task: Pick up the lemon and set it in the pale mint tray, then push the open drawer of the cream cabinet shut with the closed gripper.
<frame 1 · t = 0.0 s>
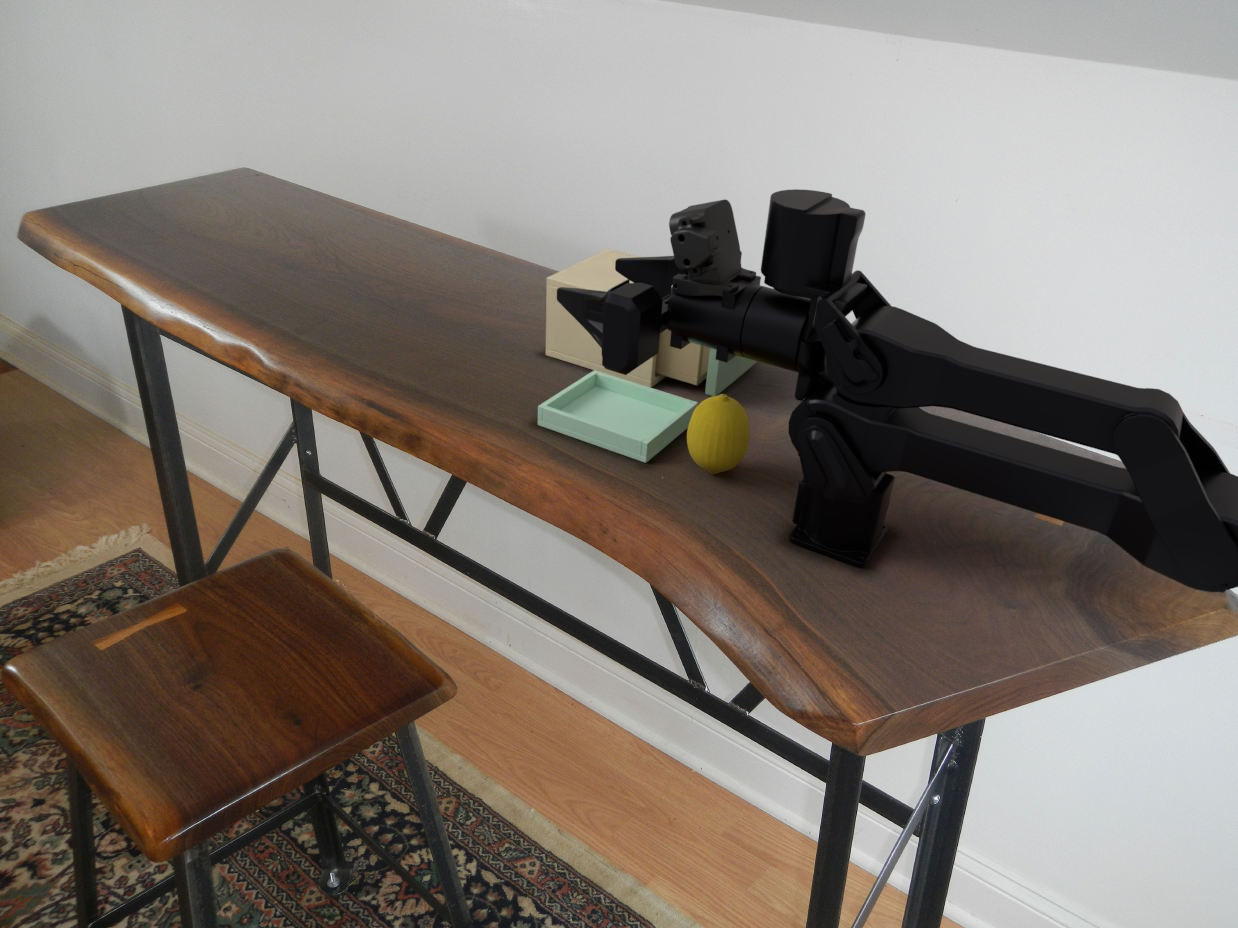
hand: (588, 278, 81), 17 cm above the table, tool horizontal, fingers open, 9 cm apart
cabinet: (626, 352, 109), on the table
drawer: (707, 337, 102), point 5 cm above the table, slide at 6.0 cm
tray: (618, 423, 94), on the table
lemon: (713, 475, 87), on the table
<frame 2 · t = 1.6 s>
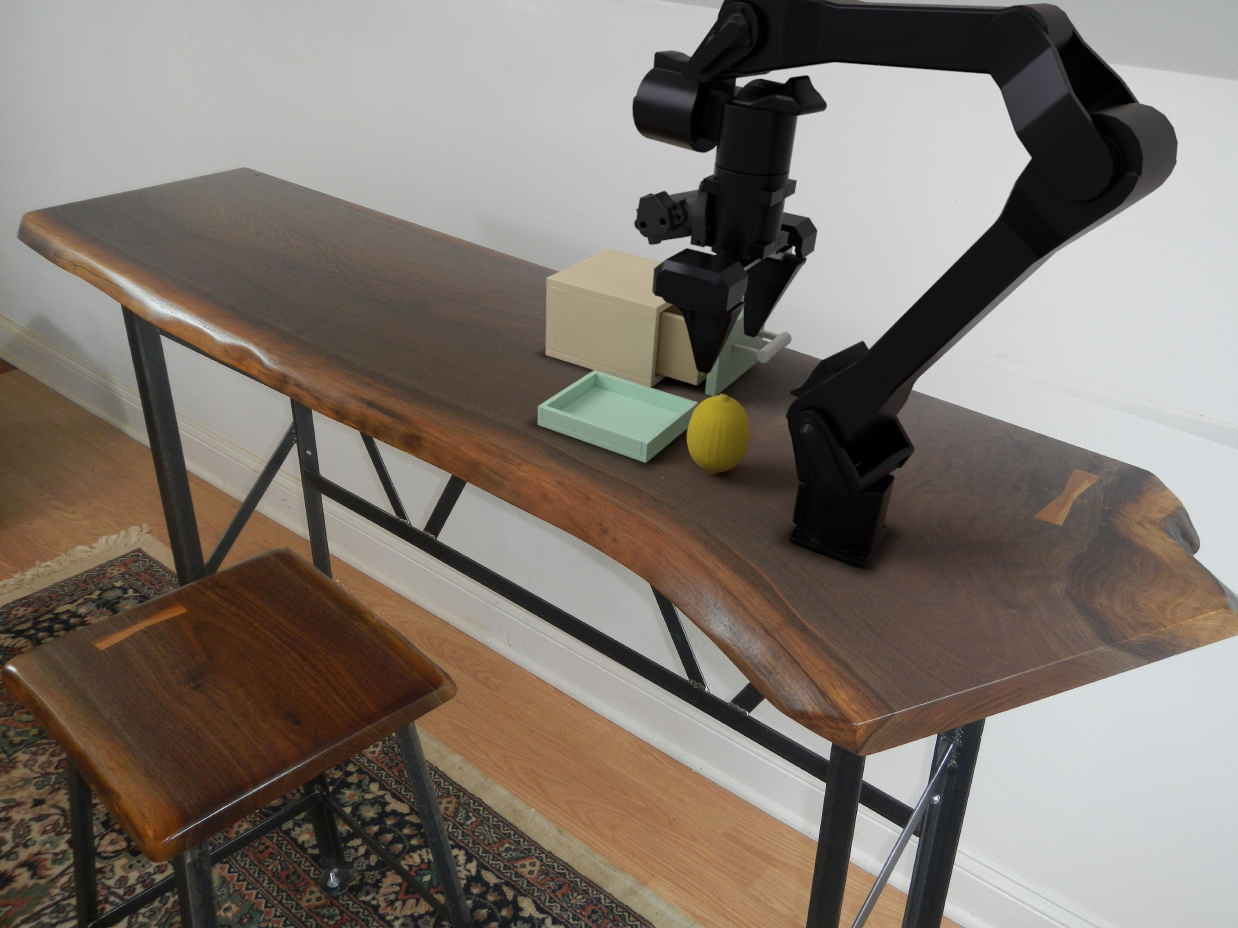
hand: (727, 353, 81), 12 cm above the table, tool pointing down, fingers open, 9 cm apart
nothing on the table moved.
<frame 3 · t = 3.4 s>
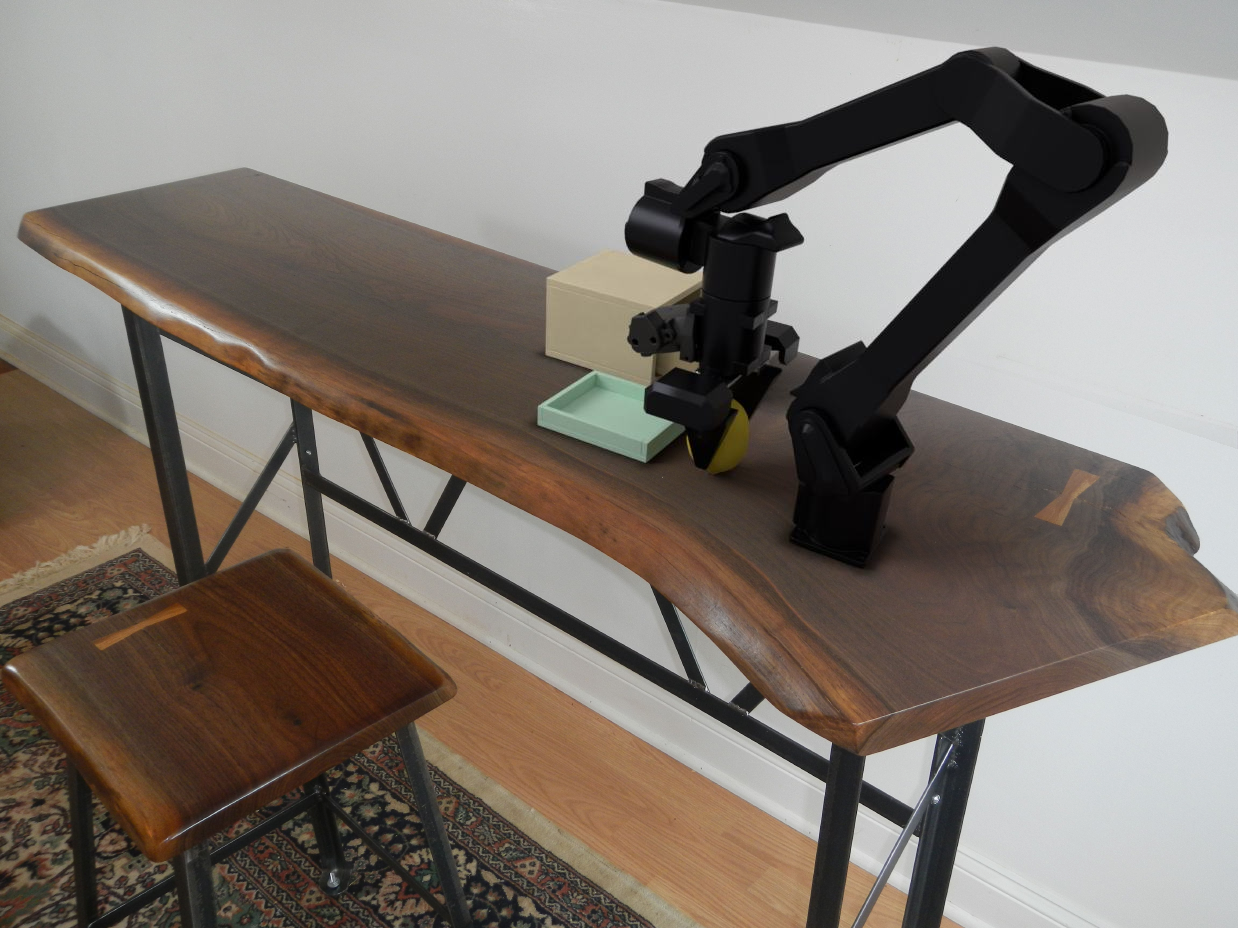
hand: (716, 454, 86), 2 cm above the table, tool pointing down, fingers closed on lemon, 5 cm apart
lemon: (713, 475, 87), on the table, touching gripper
everything else where it was.
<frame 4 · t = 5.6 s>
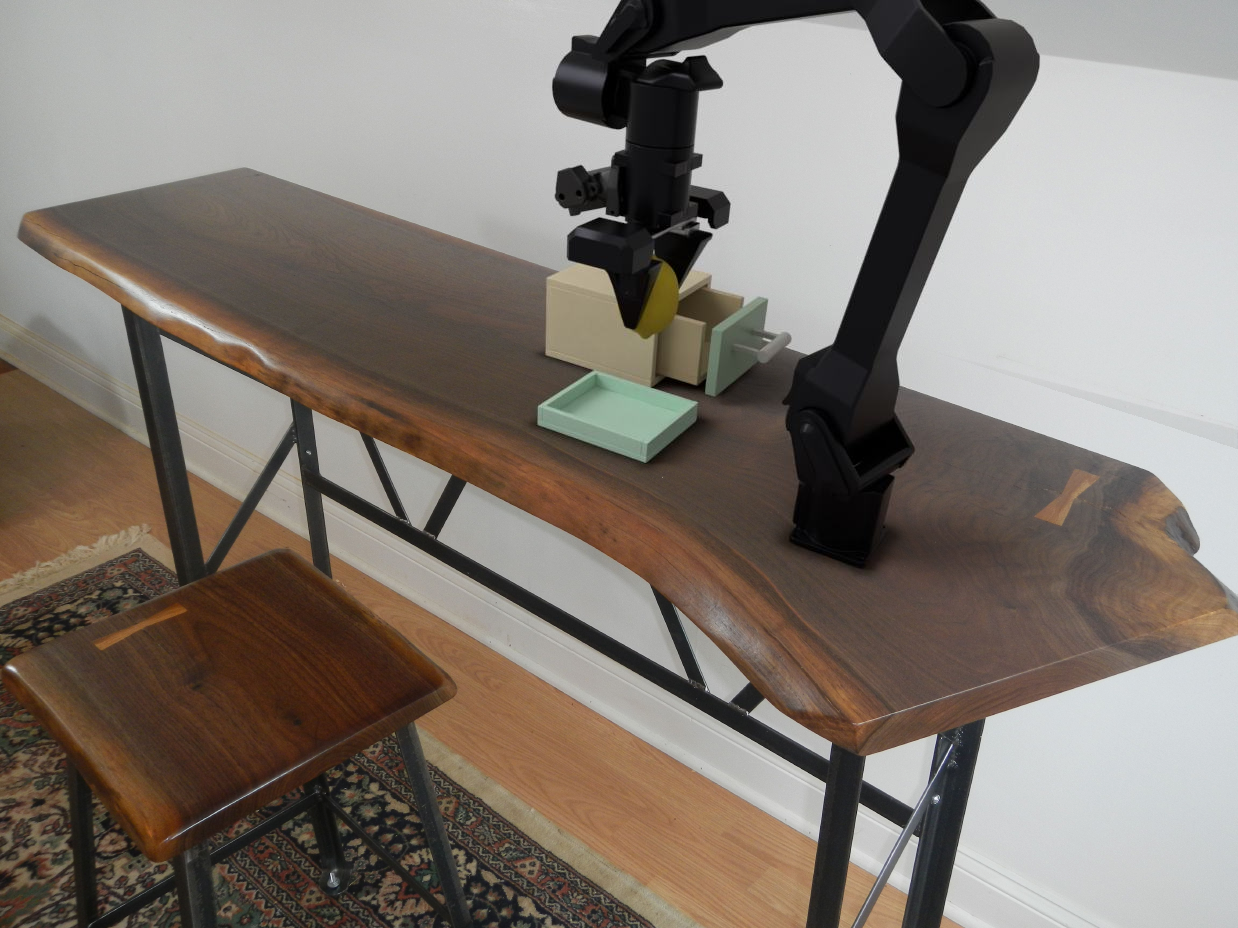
hand: (646, 318, 86), 12 cm above the table, tool pointing down, fingers closed on lemon, 5 cm apart
lemon: (644, 340, 88), point 10 cm above the table, touching gripper
everything else where it was.
when the fingers open (3 cm above the table, at t = 8.3 s): lemon stays where it is, resting on tray.
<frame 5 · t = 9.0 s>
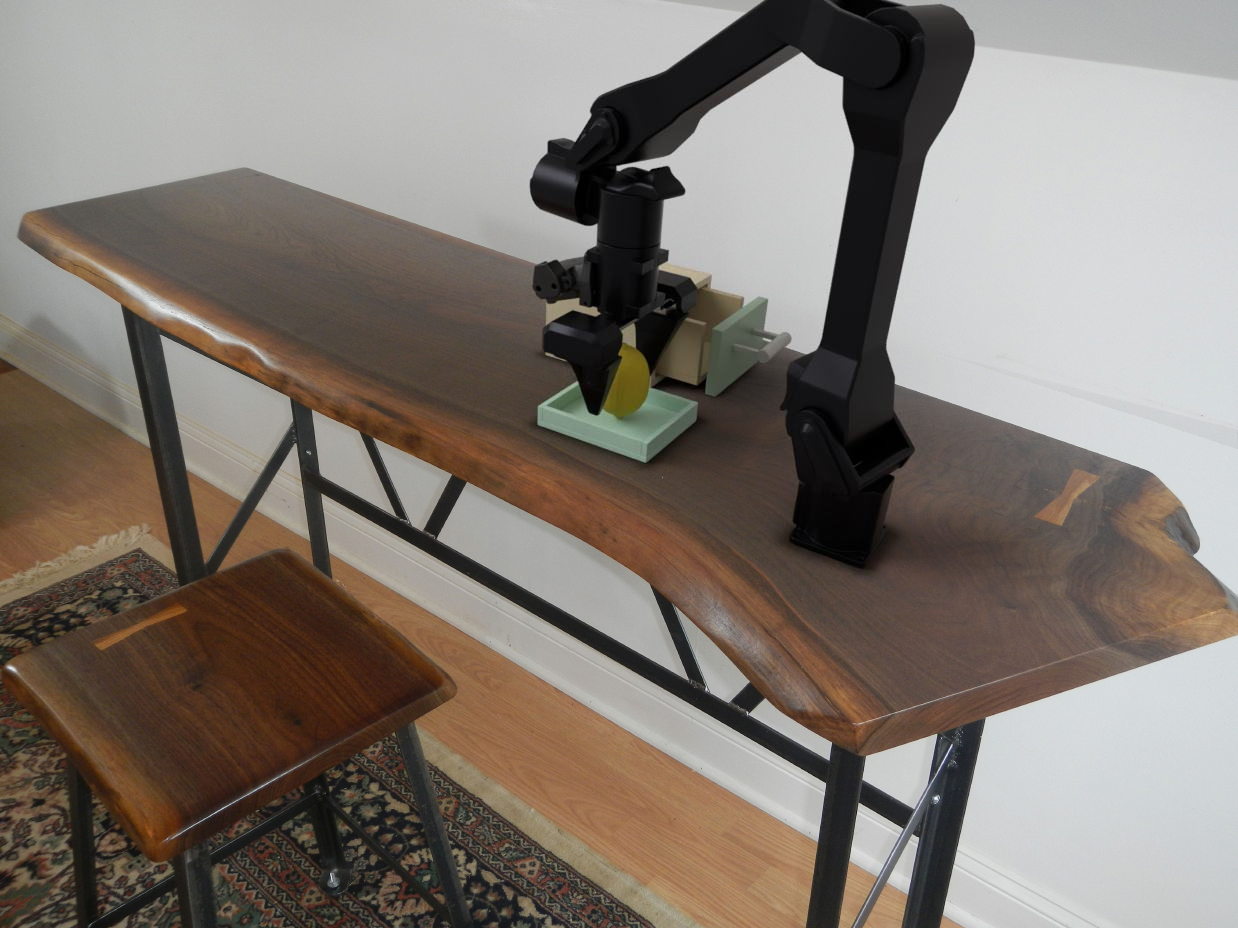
hand: (619, 396, 93), 3 cm above the table, tool pointing down, fingers open, 9 cm apart
lemon: (618, 419, 94), resting on tray
everything else where it was.
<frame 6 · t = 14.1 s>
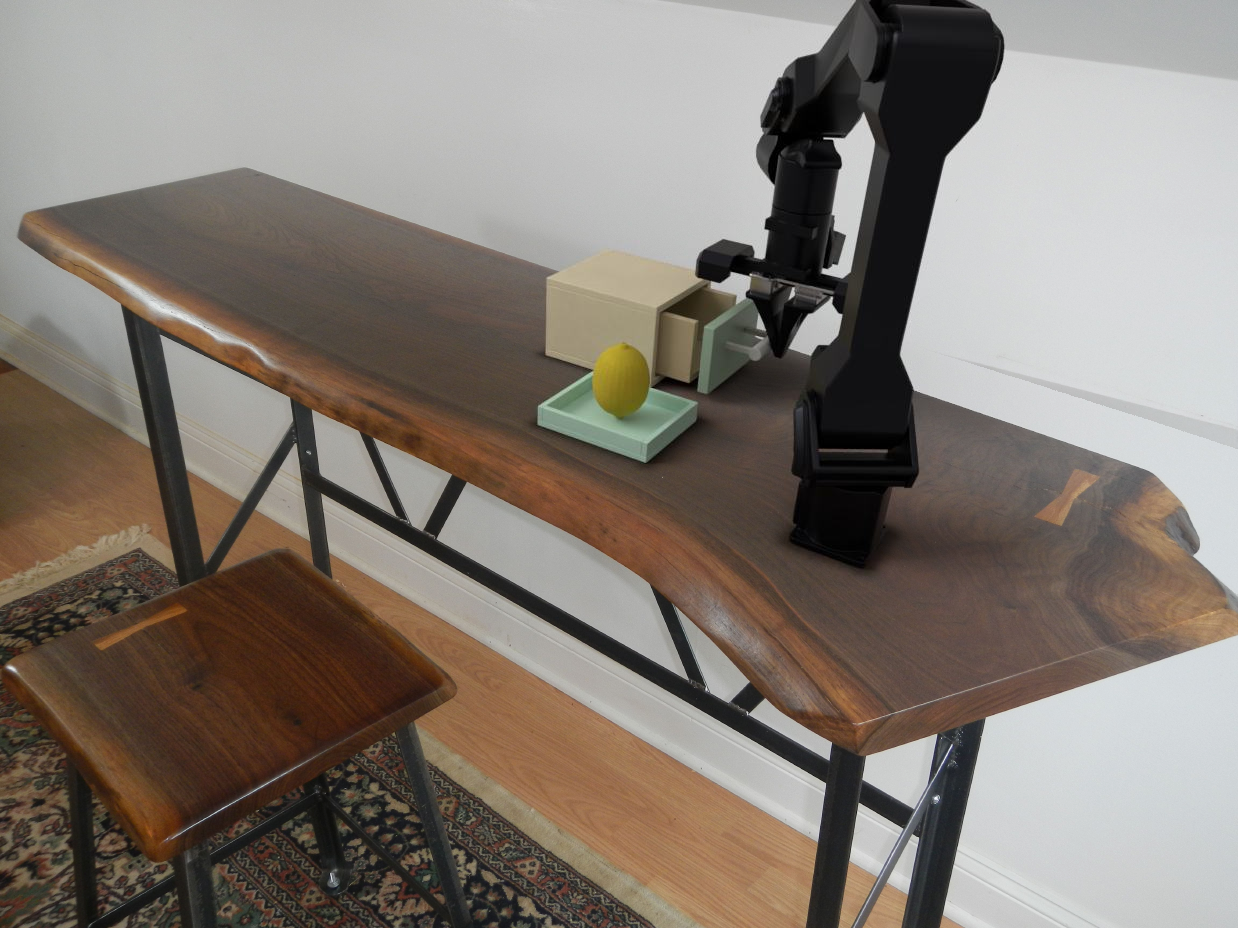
hand: (779, 356, 99), 5 cm above the table, tool pointing down, fingers closed
drawer: (699, 335, 103), point 5 cm above the table, slide at 5.1 cm, touching gripper
everything else where it was.
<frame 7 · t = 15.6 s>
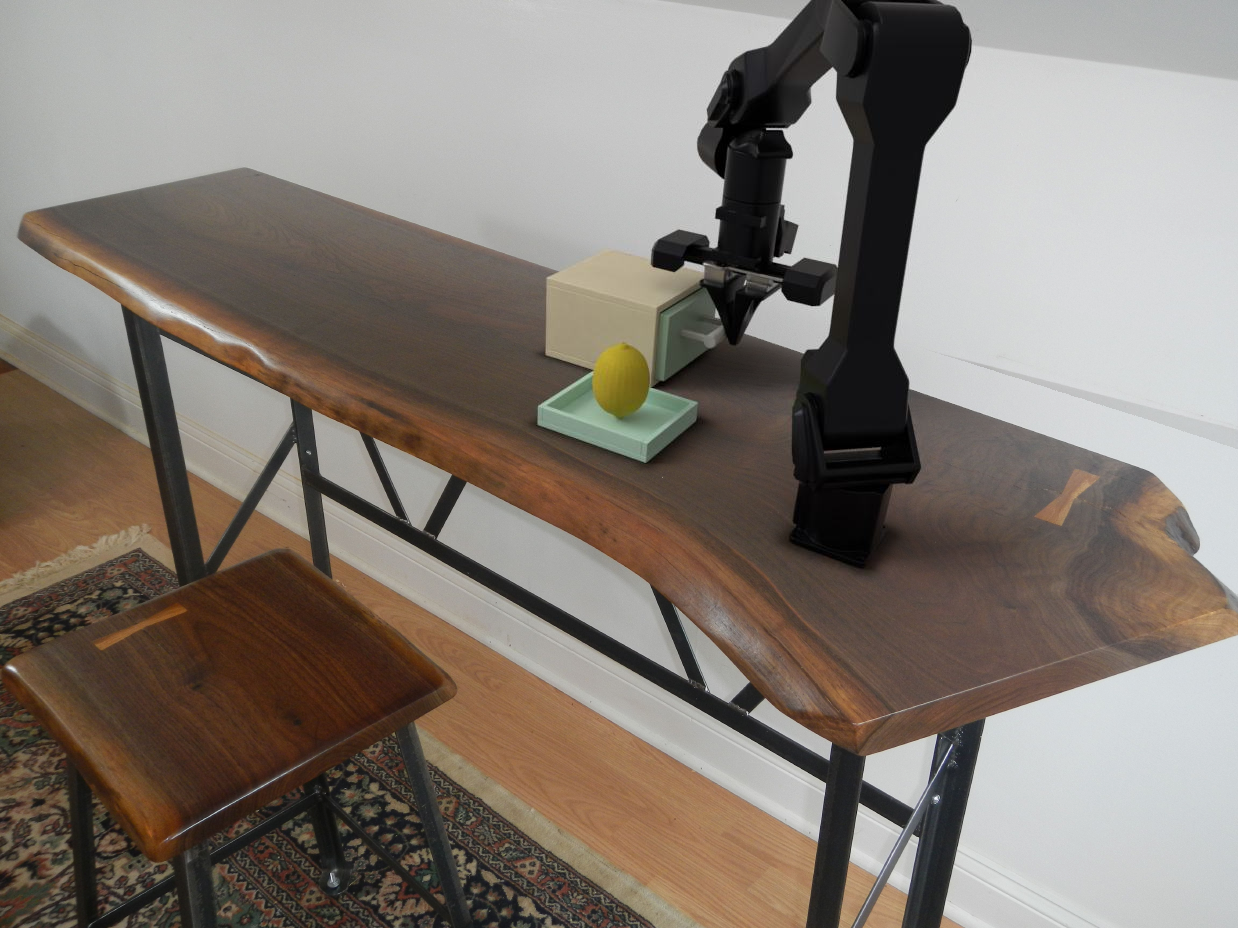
hand: (734, 344, 101), 5 cm above the table, tool pointing down, fingers closed
drawer: (658, 323, 105), point 5 cm above the table, slide at 0.0 cm, touching cabinet, gripper
everything else where it was.
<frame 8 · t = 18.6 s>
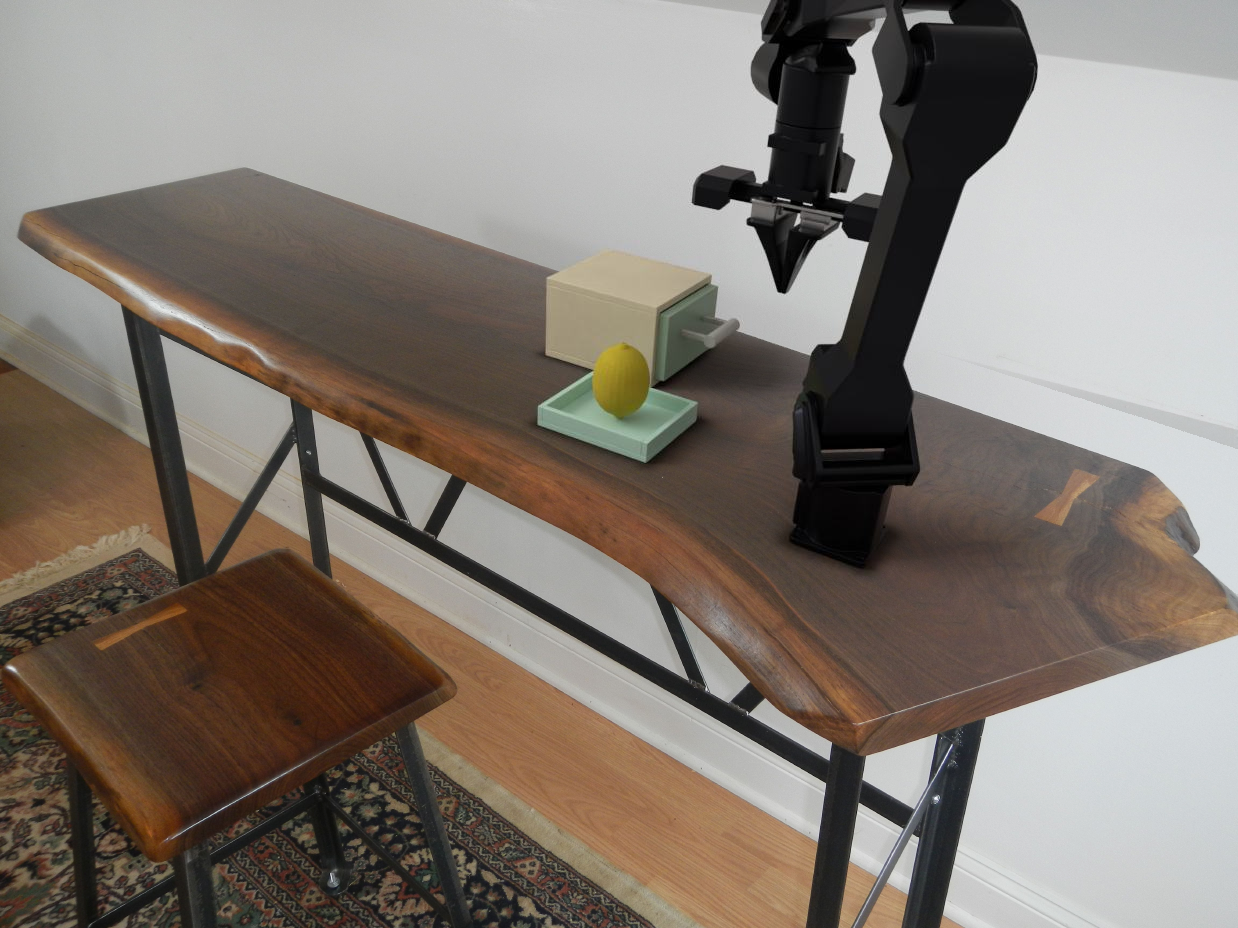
hand: (783, 292, 91), 13 cm above the table, tool pointing down, fingers closed
drawer: (658, 323, 105), point 5 cm above the table, slide at 0.0 cm, touching cabinet
everything else where it was.
at the end: lemon inside the target area in the tray (0.1 cm from its centre), point 0.4 cm above the tray's base; drawer slide at 0.0 cm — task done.
